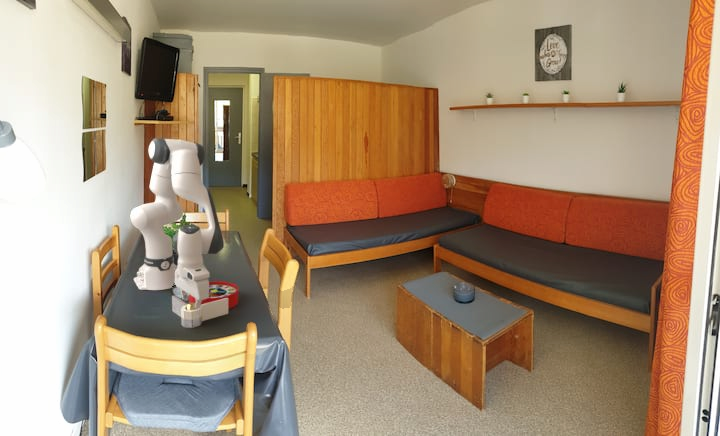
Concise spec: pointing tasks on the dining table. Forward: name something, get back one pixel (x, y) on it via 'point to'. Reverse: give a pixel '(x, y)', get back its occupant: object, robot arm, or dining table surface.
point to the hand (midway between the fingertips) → (191, 303)
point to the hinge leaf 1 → (176, 308)
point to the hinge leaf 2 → (206, 310)
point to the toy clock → (220, 293)
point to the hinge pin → (190, 306)
